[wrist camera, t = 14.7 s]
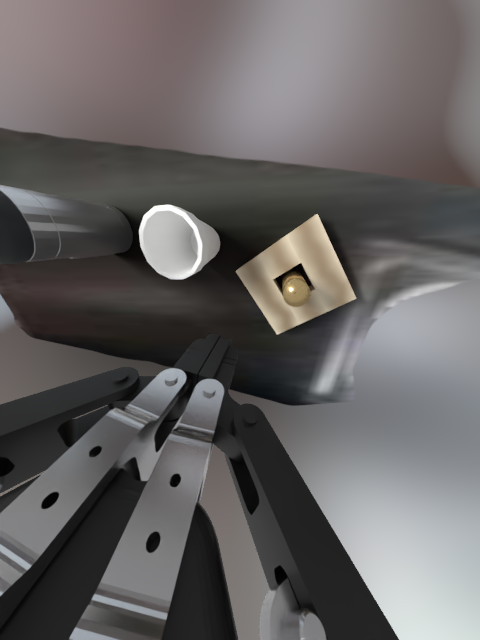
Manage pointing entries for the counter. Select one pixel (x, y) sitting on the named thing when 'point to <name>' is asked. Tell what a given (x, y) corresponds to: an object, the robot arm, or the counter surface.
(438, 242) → the counter surface
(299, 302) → the brass cylinder
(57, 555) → the robot arm
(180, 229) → the foam cup
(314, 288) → the plate
